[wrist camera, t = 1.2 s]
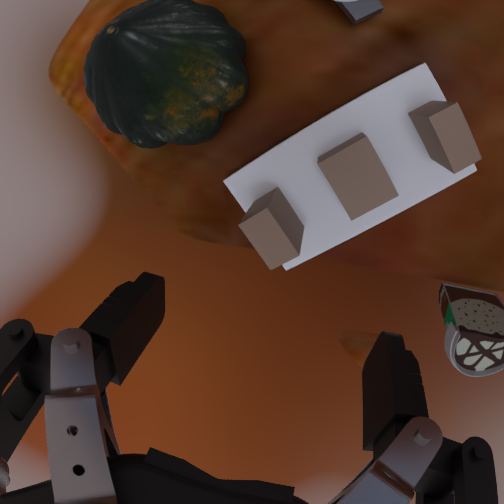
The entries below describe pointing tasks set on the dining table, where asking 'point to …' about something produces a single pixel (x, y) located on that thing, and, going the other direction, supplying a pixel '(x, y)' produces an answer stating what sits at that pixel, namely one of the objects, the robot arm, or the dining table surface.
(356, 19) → the grey white knobbed bar
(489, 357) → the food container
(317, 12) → the dining table surface
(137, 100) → the squash
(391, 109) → the display stand
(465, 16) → the dining table surface
